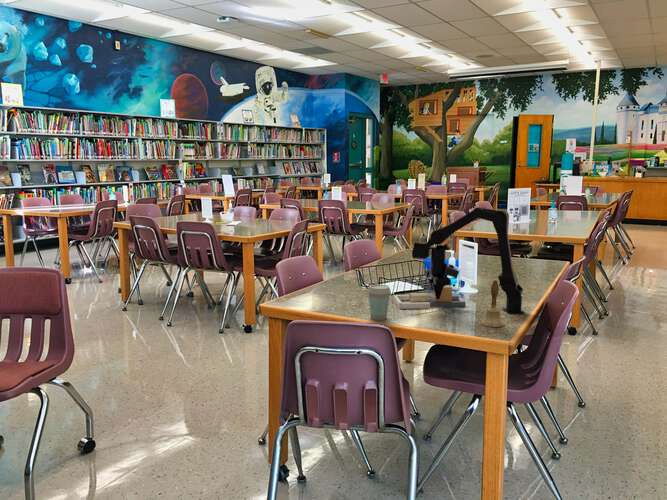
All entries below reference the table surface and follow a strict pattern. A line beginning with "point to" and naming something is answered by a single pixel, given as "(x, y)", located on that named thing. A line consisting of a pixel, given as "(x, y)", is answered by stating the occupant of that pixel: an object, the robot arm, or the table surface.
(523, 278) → the table surface
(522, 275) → the table surface
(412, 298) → the tan wooden cube
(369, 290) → the coffee cup
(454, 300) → the slot rails
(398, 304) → the tray
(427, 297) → the beige cube
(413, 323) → the table surface
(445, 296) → the tan rectangular block
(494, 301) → the hand bell
